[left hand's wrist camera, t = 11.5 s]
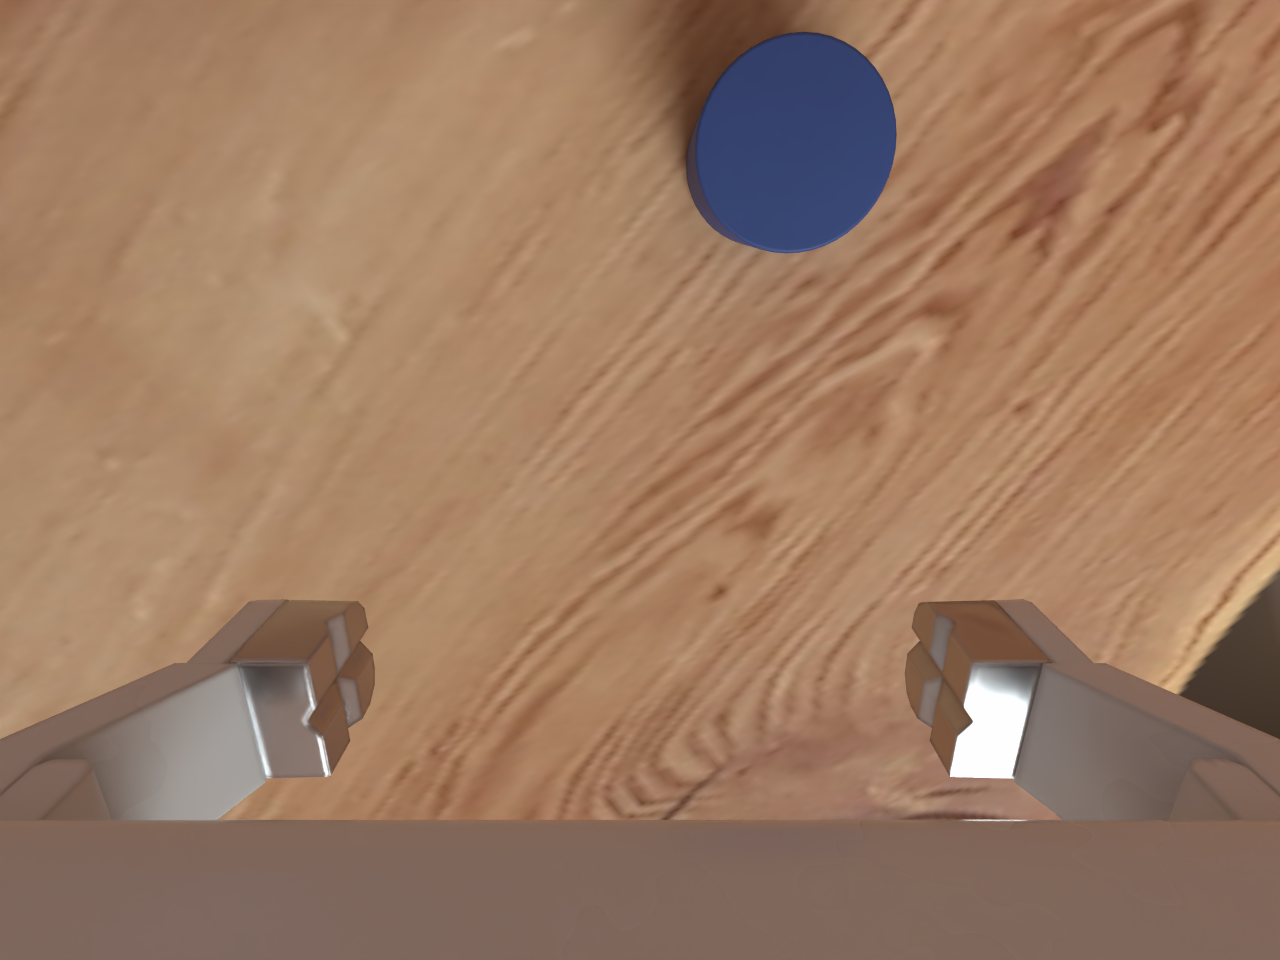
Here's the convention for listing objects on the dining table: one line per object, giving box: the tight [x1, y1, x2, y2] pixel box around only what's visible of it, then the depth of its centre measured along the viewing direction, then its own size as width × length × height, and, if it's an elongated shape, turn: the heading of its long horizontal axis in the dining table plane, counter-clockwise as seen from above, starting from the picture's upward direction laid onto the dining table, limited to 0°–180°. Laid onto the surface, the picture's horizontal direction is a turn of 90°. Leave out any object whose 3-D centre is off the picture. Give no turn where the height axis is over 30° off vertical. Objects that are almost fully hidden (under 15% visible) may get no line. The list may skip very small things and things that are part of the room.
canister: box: [686, 32, 896, 253], centre depth 17 cm, size 4×4×5 cm
